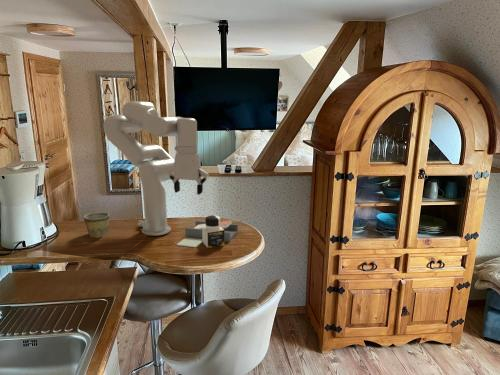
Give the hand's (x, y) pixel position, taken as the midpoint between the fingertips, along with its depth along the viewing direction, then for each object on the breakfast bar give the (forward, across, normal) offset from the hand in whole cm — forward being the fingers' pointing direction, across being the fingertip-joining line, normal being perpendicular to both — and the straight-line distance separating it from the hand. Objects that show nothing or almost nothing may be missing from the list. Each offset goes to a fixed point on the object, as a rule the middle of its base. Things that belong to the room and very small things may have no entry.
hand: (188, 192), depth 148 cm
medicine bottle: (+22, +10, +2) cm, 24 cm away
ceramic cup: (+22, -39, -5) cm, 45 cm away
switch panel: (+21, +6, +11) cm, 25 cm away
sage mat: (+21, +1, 0) cm, 21 cm away
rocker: (+17, +6, +11) cm, 21 cm away
